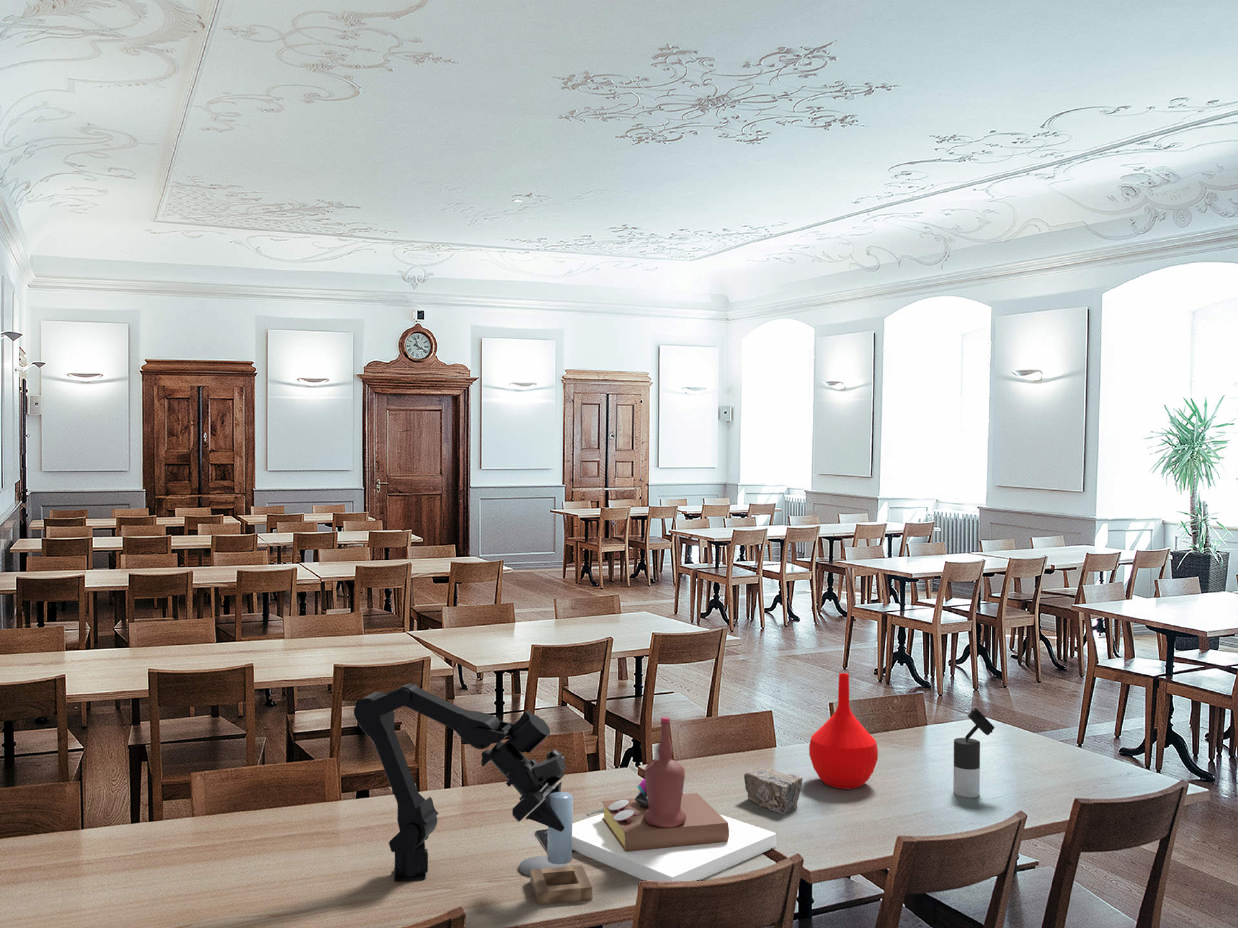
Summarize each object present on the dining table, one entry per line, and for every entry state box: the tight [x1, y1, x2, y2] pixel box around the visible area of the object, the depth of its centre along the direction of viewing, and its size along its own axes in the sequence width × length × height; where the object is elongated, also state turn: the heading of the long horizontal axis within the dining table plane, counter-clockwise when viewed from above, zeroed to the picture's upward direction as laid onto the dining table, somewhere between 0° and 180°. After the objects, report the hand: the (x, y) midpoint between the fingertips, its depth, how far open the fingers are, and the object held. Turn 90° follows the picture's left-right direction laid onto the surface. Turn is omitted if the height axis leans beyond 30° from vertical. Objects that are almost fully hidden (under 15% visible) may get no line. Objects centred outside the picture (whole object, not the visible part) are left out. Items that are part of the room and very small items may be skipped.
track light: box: [953, 707, 996, 798], centre depth 269 cm, size 6×17×20 cm
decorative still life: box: [572, 716, 777, 882], centre depth 234 cm, size 35×40×31 cm
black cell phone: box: [535, 828, 580, 855], centre depth 234 cm, size 8×1×15 cm
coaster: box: [518, 855, 567, 877], centre depth 219 cm, size 10×10×1 cm
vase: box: [808, 672, 879, 790], centre depth 277 cm, size 18×18×30 cm
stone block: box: [743, 766, 803, 815], centre depth 260 cm, size 14×9×8 cm, turn 41°
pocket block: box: [529, 865, 593, 905], centre depth 208 cm, size 11×11×2 cm
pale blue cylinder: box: [547, 791, 574, 865], centre depth 208 cm, size 5×5×13 cm
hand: (566, 825), depth 208 cm, fingers closed on pale blue cylinder, 5 cm apart
